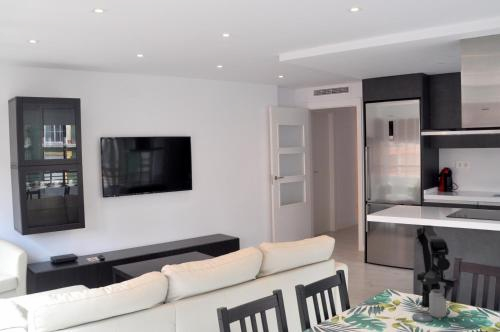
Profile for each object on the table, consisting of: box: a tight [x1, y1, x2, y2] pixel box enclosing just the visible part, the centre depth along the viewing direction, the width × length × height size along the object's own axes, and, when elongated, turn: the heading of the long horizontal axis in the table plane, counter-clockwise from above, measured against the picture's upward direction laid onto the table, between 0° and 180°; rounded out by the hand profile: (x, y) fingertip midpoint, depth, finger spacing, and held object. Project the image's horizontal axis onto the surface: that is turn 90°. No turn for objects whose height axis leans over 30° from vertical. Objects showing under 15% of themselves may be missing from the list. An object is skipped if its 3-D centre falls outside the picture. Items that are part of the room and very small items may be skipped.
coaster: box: [411, 312, 434, 324], centre depth 228 cm, size 9×9×1 cm
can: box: [428, 289, 447, 319], centre depth 231 cm, size 8×8×12 cm
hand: (437, 297), depth 231 cm, fingers closed on can, 7 cm apart
